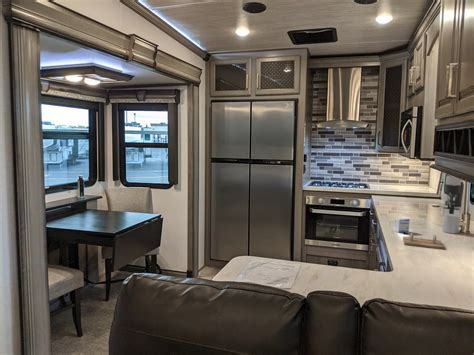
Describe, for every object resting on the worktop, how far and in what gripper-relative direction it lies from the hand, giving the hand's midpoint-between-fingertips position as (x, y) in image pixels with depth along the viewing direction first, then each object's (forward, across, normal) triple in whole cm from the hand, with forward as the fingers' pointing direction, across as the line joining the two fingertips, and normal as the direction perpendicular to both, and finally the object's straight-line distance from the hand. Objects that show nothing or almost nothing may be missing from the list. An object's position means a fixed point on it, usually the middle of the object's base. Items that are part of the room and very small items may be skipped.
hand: (450, 212), depth 216 cm
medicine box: (+18, -15, -24) cm, 33 cm away
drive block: (+2, 0, 0) cm, 2 cm away
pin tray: (+18, +9, -14) cm, 24 cm away
